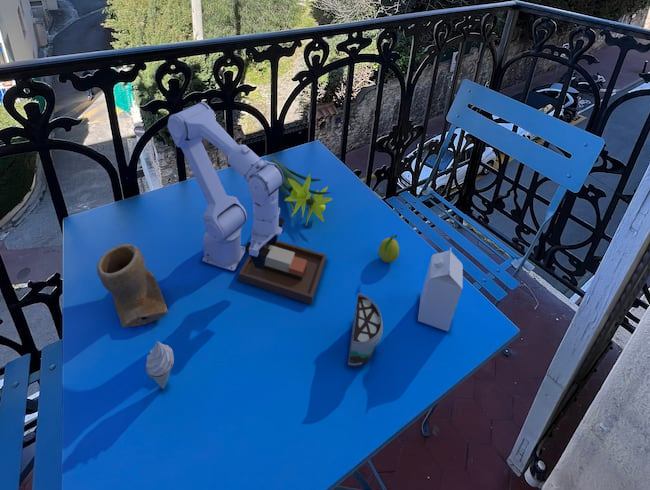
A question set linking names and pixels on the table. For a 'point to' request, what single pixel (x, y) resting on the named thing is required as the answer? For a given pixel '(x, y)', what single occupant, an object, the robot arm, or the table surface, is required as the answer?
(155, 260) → the table surface
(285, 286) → the brown serving tray
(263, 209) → the robot arm
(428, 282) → the milk carton
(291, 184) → the daffodil flowers
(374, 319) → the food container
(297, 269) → the beige and orange block
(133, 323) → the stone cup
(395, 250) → the yellow pear
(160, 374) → the ice cream cone
